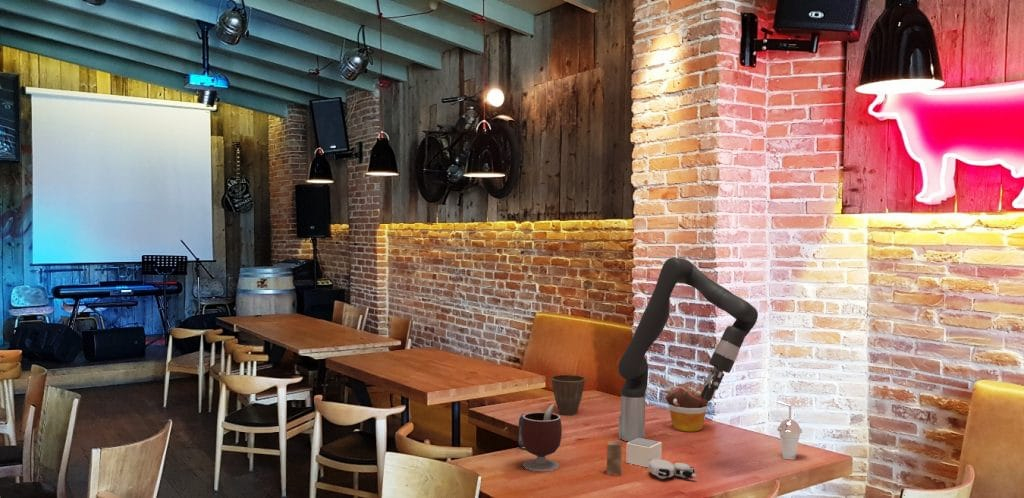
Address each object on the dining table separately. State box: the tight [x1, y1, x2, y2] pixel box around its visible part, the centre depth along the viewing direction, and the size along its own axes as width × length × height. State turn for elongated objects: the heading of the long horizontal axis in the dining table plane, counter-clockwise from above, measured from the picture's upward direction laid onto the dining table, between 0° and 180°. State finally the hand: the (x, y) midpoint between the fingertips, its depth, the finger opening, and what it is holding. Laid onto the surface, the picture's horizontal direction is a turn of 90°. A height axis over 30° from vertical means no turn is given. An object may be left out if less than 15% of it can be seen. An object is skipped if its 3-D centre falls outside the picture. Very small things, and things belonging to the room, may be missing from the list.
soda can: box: [518, 413, 525, 449], centre depth 275 cm, size 7×7×12 cm
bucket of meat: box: [664, 385, 709, 433], centre depth 305 cm, size 20×16×20 cm
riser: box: [625, 438, 663, 469], centre depth 257 cm, size 9×9×7 cm
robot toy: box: [648, 458, 698, 480], centre depth 243 cm, size 12×4×15 cm
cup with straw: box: [775, 400, 803, 460], centre depth 266 cm, size 8×9×20 cm
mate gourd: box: [521, 403, 563, 472], centre depth 252 cm, size 16×14×20 cm
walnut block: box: [606, 440, 623, 476], centre depth 246 cm, size 4×4×10 cm
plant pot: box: [551, 374, 586, 416], centre depth 329 cm, size 15×15×16 cm
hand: (704, 399), depth 251 cm, fingers open, 8 cm apart
